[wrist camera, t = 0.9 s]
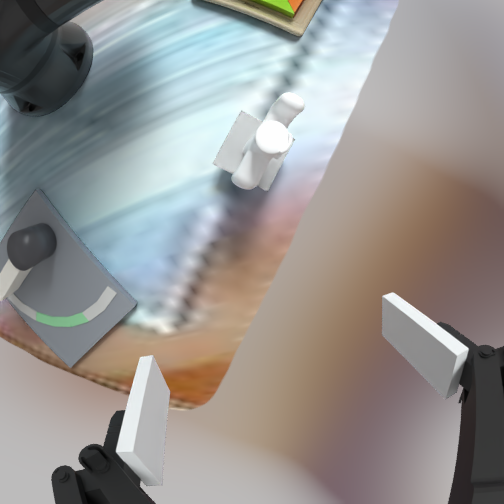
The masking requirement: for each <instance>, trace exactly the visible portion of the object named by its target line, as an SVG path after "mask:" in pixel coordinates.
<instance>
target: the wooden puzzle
mask: <svg viewBox="0 0 504 504" xmlns="http://www.w3.org/2000/svg"><path fill="white" fill-rule="evenodd" d="M204 1H208V2H211V3H214V4H218V5H221V6H224V7H227V8H230V9H233V10H236V11H238V12H241V13H244V14H247V15H249V16H252V17H254V18H257V19H259V20H262V21H264V22H267V23H269V24H271V25H274V26H276V27H278V28H280V29H283V30H285V31H287V32H289V33H291V34H293V35H296V36H302V35H303V33H304V31H305V30H306V28H307V26H308V24H309V22H310V21H311V19H312V17H313V15H314V13H315V12H316V10H317V8H318V6H319V5H320V3H321V1H322V0H204Z"/></svg>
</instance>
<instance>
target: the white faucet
mask: <svg viewBox="0 0 504 504" xmlns="http://www.w3.org/2000/svg"><path fill="white" fill-rule="evenodd" d="M304 107H305V104H304V101H303V100H302V99H301V98H300V97H299V96H297V95H295V94H293V93H284V94H282V95H281V96H280V97H279V98H278V99H277V100H276V101H275V102H274V103H273V105H272V106H271V108H270V110H269V112H268V114H267V115H266V117H265V119H264V121H261V120H259V119H257V118H255V117H253V116H251V115H249V114H247V113H245V112H243V111H241V112H240V114H239V115H238V117H237V119H236V121H235V122H234V124H233V126H232V128H231V130H230V132H229V133H228V135H227V137H226V139H225V141H224V143H223V145H222V146H221V148H220V150H219V152H218V154H217V156H216V158H215V160H214V162H213V165H215V166H218V167H220V168H222V169H224V170H226V171H228V172H230V173H232V174H233V175H232V182H233V183H234V184H235V185H236V186H238V187H240V188H243V189H247V190H251V189H253V188H255V187H256V186H258V187H259V188H261V189H263V190H265V191H267V192H268V190H269V188H270V186H271V184H272V182H273V180H274V178H275V176H276V175H277V173H278V171H279V169H280V167H281V165H282V163H283V161H284V159H285V157H286V155H287V153H288V152H289V150H290V148H291V146H292V144H293V142H294V140H295V139H294V138H292V134H290V133H288V131H287V128H288V126H289V124H290V123H291V122H292V120H293V119H294V118H295V117H296V116H297V115H298V114H299V113H301V112H302V111H303V110H304Z"/></svg>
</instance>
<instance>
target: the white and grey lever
mask: <svg viewBox="0 0 504 504" xmlns="http://www.w3.org/2000/svg"><path fill="white" fill-rule="evenodd" d="M55 249H56V236H55V233H54V231H53V230H52V228H51V227H50V226H49V225H47V224H45V223H39V224H36V225H33V226H30V227H27V228H24V229H21V230H18V231H16V232H14V233H12V234H11V235H10V237H9V239H8V242H7V253H8V257H9V259H8V261H7V263H6V264H5V266H4V268H3V269H2V271H1V273H0V301H2V300H4V299H5V298H7V297H8V296H9V295H11V294H12V293H13V292H15V291H16V290H18V288H19V287H20V285H21V284H22V282H23V281H24V279H25V278H26V276H27V275H28V273H29V272H30V271H31V269H32V268H33V266H35V265H37V264H38V263H40V262H42V261H43V260H45V259H47V258H48V257H50V256H52V254H53V253H54V252H55Z"/></svg>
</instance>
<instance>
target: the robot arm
mask: <svg viewBox="0 0 504 504" xmlns="http://www.w3.org/2000/svg"><path fill="white" fill-rule="evenodd" d="M101 1H103V0H0V94H1V95H2V96H3V97H4V98H5V100H6V101H7V102H8V103H9V104H10V106H11V107H12V108H13V109H14V110H16V111H17V112H19V113H22V114H25V115H29V116H42V115H46V114H48V113H51V112H53V111H55V110H56V109H58V108H60V107H61V106H62V105H64V104H65V103H66V102H67V101H68V100H69V99H70V98H71V97H72V96H73V95H74V94H75V93H76V92H77V90H78V89H79V88H80V86H81V85H82V83H83V82H84V80H85V78H86V76H87V74H88V72H89V69H90V66H91V63H92V58H93V45H92V41H91V39H90V37H89V35H88V34H87V33H86V32H85V31H84V30H83V29H82V28H81V27H80V26H79V25H77V24H75V23H72V22H69V21H70V20H71V19H73V18H74V17H76V16H77V15H79V14H81V13H82V12H84V11H86V10H87V9H89V8H91V7H92V6H94V5H96V4H98V3H100V2H101ZM382 299H383V302H382V313H383V314H382V336H384V337H385V338H386V339H387V340H388V341H389V342H390V343H391V344H392V345H393V346H394V347H395V349H396V350H397V351H398V352H399V353H400V354H401V355H402V356H403V357H404V358H405V359H406V360H407V361H408V362H409V363H410V364H411V365H412V366H413V367H414V368H415V369H416V370H417V371H418V372H419V373H420V374H421V375H422V376H423V377H424V378H425V379H426V380H427V381H428V382H429V383H430V384H431V385H432V386H433V387H434V388H435V389H436V391H437V392H438V393H439V394H440V395H441V396H442V397H443V398H444V399H447V398H449V397H450V396H452V395H453V394H455V393H456V392H457V389H458V386H459V384H460V385H462V387H463V391H462V394H461V397H460V400H459V403H461V400H462V407H461V424H460V436H459V444H458V452H457V460H456V466H455V472H454V478H453V483H452V488H451V493H450V497H449V501H448V504H504V346H503V347H500V348H497V349H494V348H493V347H491V346H489V345H481V346H477V345H476V344H474V343H473V342H472V341H470V340H469V339H468V338H466V337H465V336H464V335H462V334H460V333H459V332H458V331H457V330H455V329H454V328H453V327H451V326H450V325H448V324H445V323H442V322H440V323H437V324H436V323H435V322H433V321H432V320H431V319H429V318H428V317H426V316H425V315H424V314H422V313H421V312H420V311H418V310H417V309H416V308H414V307H413V306H411V305H410V304H409V303H407V302H406V301H405V300H403V299H402V298H400V297H399V296H397V295H396V294H395V293H390V294H387V295H384V296H382ZM169 397H170V390H169V388H168V386H167V384H166V382H165V380H164V378H163V376H162V374H161V372H160V369H159V367H158V365H157V363H156V361H155V358H154V356H153V355H151V356H145V357H140V360H139V363H138V367H137V370H136V374H135V377H134V381H133V384H132V388H131V392H130V395H129V399H128V403H127V407H126V410H121V411H116V413H115V414H114V415H113V417H112V418H111V421H110V424H109V428H108V431H107V435H106V438H105V442H104V446H103V447H102V446H101V445H98V444H91V445H88V446H86V447H85V448H84V449H82V451H81V452H80V454H79V462H80V464H81V465H82V466H83V467H84V468H85V469H83V470H79V471H74V470H73V469H72V468H71V467H70V466H66V465H65V466H60V467H58V468H57V469H56V470H55V471H54V472H53V474H52V479H51V480H52V487H53V492H54V498H55V503H56V504H156V503H155V502H154V501H153V500H152V499H151V498H150V497H149V496H148V495H147V494H146V493H145V492H144V491H143V489H142V488H141V487H140V481H143V483H144V484H145V485H146V486H153V485H154V486H155V485H162V482H163V465H164V451H165V438H166V427H167V416H168V406H169Z"/></svg>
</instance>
